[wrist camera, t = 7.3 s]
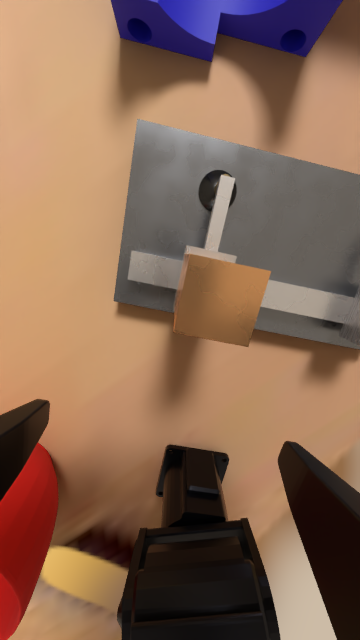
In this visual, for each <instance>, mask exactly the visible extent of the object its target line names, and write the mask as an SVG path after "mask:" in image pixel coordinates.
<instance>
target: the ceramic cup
mask: <svg viewBox="0 0 360 640" xmlns="http://www.w3.org/2000/svg"><path fill="white" fill-rule="evenodd" d="M57 510H58V483H57V478H56V474H55V471H54V468H53V465H52V460H51V457H50V455H49V453H48V452H47V451H46V449H45V448H44V447H43V446H41V445H40V444H39V443H37V444H36V446H35V448H34V450H33V452H32V453H31V455H30V457H29V459H28V461H27V462H26V464H25V466H24V467H23V469H22V471H21V472H20V474H19V475H18V477H17V478H16V480H15V481H14V483H13V484H12V485H11V487H10V488H9V490H8V491H7V493H6V494H5V496H4V497H3V499H2V500H1V501H0V640H7V639H8V638H9V637H10V636H11V635H12V634H13V633H14V632H15V630H16V629H17V627H18V625H19V623H20V622H21V620H22V618H23V616H24V614H25V611H26V609H27V607H28V604H29V602H30V599H31V597H32V594H33V591H34V589H35V586H36V583H37V581H38V578H39V575H40V572H41V570H42V567H43V564H44V561H45V558H46V555H47V552H48V549H49V546H50V542H51V539H52V535H53V531H54V526H55V521H56V516H57Z"/></svg>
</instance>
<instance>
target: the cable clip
mask: <svg viewBox="0 0 360 640" xmlns="http://www.w3.org/2000/svg"><path fill="white" fill-rule="evenodd" d="M342 1H343V0H111V3H112V7H113V11H114V15H115V18H116V22H117V26H118V30H119V34H120V38H124V39H127V40H131V41H135V42H139V43H143V44H146V45H150V46H154V47H158V48H161V49H165V50H169V51H173V52H176V53H180V54H184V55H188V56H191V57H195V58H199V59H203V60H206V61H210V62H212V57H213V51H214V46H215V41H216V35H217V33H220V34H223V35H227V36H230V37H234V38H238V39H241V40H245V41H249V42H252V43H256V44H260V45H263V46H267V47H270V48H274V49H278V50H281V51H285V52H289V53H292V54H296V55H300V56H303V57H306V56H307V54H308V53H309V51H310V50H311V48H312V47H313V45H314V44H315V42H316V40H317V39H318V37H319V36H320V34H321V33H322V31H323V30H324V28H325V27H326V25H327V24H328V22H329V21H330V19H331V18H332V16H333V14H334V13H335V11H336V10H337V8H338V7H339V5H340V4H341V2H342Z"/></svg>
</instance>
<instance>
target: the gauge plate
mask: <svg viewBox="0 0 360 640" xmlns="http://www.w3.org/2000/svg"><path fill="white" fill-rule="evenodd" d="M224 174H228V175H229V176H230V177H233V178H235V181H234V186H233V190H232V194H231V198H230V202H229V206H228V211H227V215H226V219H225V223H224V227H223V231H222V236H221V240H220V244H219V248H218V252H221V253H225V254H230V255H234V256H237V258H236V261H235V263H236V264H240V265H245V266H250V267H254V268H259V269H264V270H268V271H271V274H270V277H269V280H268V284H267V287H266V290H265V293H264V297H263V300H262V303H261V306H260V310H259V313H258V316H257V319H256V323H255V326H254V329H258V330H263V331H268V332H273V333H279V334H284V335H289V336H294V337H299V338H304V339H309V340H314V341H319V342H324V343H329V344H334V345H339V346H345V347H350V348H355V349H360V175H358V174H354V173H350V172H346V171H342V170H339V169H335V168H331V167H327V166H323V165H319V164H315V163H311V162H307V161H303V160H299V159H295V158H291V157H287V156H283V155H279V154H275V153H271V152H267V151H263V150H259V149H255V148H251V147H247V146H243V145H239V144H235V143H231V142H227V141H224V140H220V139H216V138H212V137H208V136H204V135H200V134H196V133H192V132H188V131H184V130H180V129H176V128H172V127H168V126H164V125H160V124H156V123H152V122H148V121H144V120H140V119H137V127H136V134H135V142H134V150H133V157H132V165H131V172H130V180H129V188H128V195H127V203H126V210H125V218H124V226H123V233H122V241H121V249H120V256H119V264H118V271H117V279H116V287H115V294H114V301H116V302H121V303H126V304H131V305H136V306H141V307H146V308H152V309H157V310H162V311H167V312H172V313H174V311H173V306H174V299H175V294H176V289H177V284H178V280H179V275H180V270H181V265H182V260H183V255H184V250H185V246H186V245H188V246H193V247H198V248H202V249H203V247H204V243H205V238H206V234H207V229H208V225H209V221H210V216H211V212H212V207H213V203H214V198H215V193H214V188H215V186H216V184H217V182H218V180H219V178H220V176H221V175H224Z"/></svg>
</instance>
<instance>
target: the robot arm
mask: <svg viewBox="0 0 360 640" xmlns="http://www.w3.org/2000/svg"><path fill="white" fill-rule="evenodd" d="M49 409H50V403H49V401H48V400H42V399H36V400H34V401H31V402H29V403H27V404H25V405H22V406H20V407H18V408H16V409H13V410H11V411H9V412H6V413H4V414H2V415H0V501H1V500H2V499H3V497H4V496H5V494H6V493H7V491H8V490H9V488H10V487H11V485H12V484H13V483H14V481H15V480H16V478H17V477H18V475H19V474H20V472H21V471H22V469H23V467H24V466H25V464H26V462H27V461H28V459H29V457H30V455H31V453H32V452H33V450H34V448H35V446H36V444H37V443H38V441H39V439H40V437H41V436H42V434H43V432H44V430H45V428H46V426H47V424H48V421H49ZM169 450H172V451H169ZM223 458H225V459H223ZM228 463H229V457H228V455H227V454H226V453H220V452H214V451H208V450H201V449H195V448H189V447H182V446H176V445H168V446H167V447H166V450H165V454H164V459H163V463H162V467H161V471H160V476H159V480H158V484H157V488H156V495H157V496H159V497H163V506H162V524H161V528H153V529H147V528H140V531H139V535H138V539H137V540H136V543H135V547H134V551H133V555H132V559H131V563H130V567H129V571H128V575H127V579H126V584H125V588H124V592H123V596H122V599H121V602H120V604H119V607H118V612H117V621H118V623H119V625H120V627H121V629H122V640H280V633H279V627H278V621H277V616H276V611H275V607H274V603H273V598H272V594H271V590H270V586H269V582H268V579H267V575H266V572H265V569H264V566H263V563H262V560H261V557H260V554H259V551H258V548H257V545H256V542H255V539H254V536H253V533H252V530H251V528H250V525H249V522H248V519H247V518H241V519H240V520H235V521H228V517H227V511H226V506H225V501H224V496H223V491H222V486H221V484H222V481H223V478H224V475H225V472H226V469H227V466H228ZM278 465H279V469H280V473H281V476H282V480H283V484H284V488H285V492H286V495H287V499H288V503H289V506H290V509H291V512H292V515H293V518H294V520H295V524H296V526H297V529H298V532H299V535H300V537H301V540H302V543H303V546H304V549H305V552H306V554H307V557H308V560H309V563H310V565H311V568H312V571H313V574H314V576H315V579H316V582H317V585H318V588H319V590H320V593H321V596H322V599H323V602H324V604H325V607H326V610H327V613H328V616H329V618H330V621H331V624H332V627H333V629H334V632H335V635H336V638H337V640H360V493H359V492H357V491H356V490H355V489H354V488H352V487H351V486H350V485H349V484H347V483H346V482H345V481H344V480H342V479H341V478H340V477H339V476H338V475H336V474H335V473H334V472H333V471H331V470H330V469H329V468H328V467H326V466H325V465H324V464H323V463H321V462H320V461H319V460H318V459H316V458H315V457H314V456H313V455H311V454H310V453H309V452H308V451H306V450H305V449H304V448H303V447H302V446H300V445H299V444H298V443H296V442H291V441H286V442H284V444H283V447H282V449H281V452H280V454H279V457H278Z"/></svg>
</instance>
